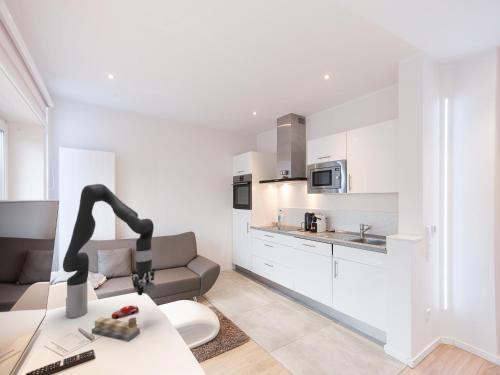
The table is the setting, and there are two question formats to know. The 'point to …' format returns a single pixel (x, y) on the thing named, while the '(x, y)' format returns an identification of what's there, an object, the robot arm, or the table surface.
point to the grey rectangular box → (146, 287)
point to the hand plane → (116, 328)
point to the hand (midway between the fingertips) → (144, 292)
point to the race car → (125, 311)
